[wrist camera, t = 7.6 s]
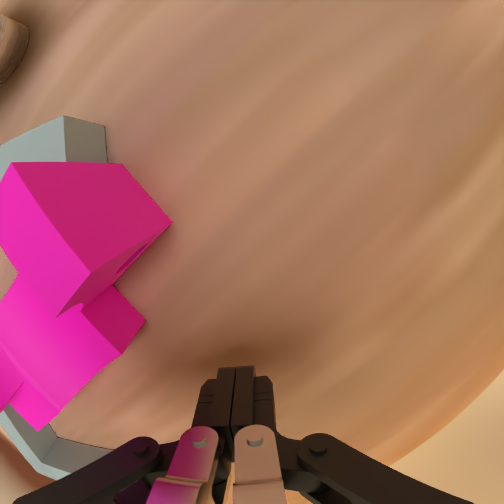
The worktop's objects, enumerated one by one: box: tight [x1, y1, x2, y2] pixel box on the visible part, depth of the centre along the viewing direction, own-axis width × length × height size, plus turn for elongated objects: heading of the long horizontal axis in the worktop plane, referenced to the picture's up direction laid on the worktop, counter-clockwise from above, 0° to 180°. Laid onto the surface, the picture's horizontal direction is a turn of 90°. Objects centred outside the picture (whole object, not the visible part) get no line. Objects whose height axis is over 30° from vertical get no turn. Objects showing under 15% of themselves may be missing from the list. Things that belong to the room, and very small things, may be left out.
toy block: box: [0, 162, 173, 431], centre depth 11 cm, size 15×6×8 cm, turn 131°
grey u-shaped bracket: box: [0, 115, 138, 492], centre depth 13 cm, size 15×24×4 cm, turn 7°
